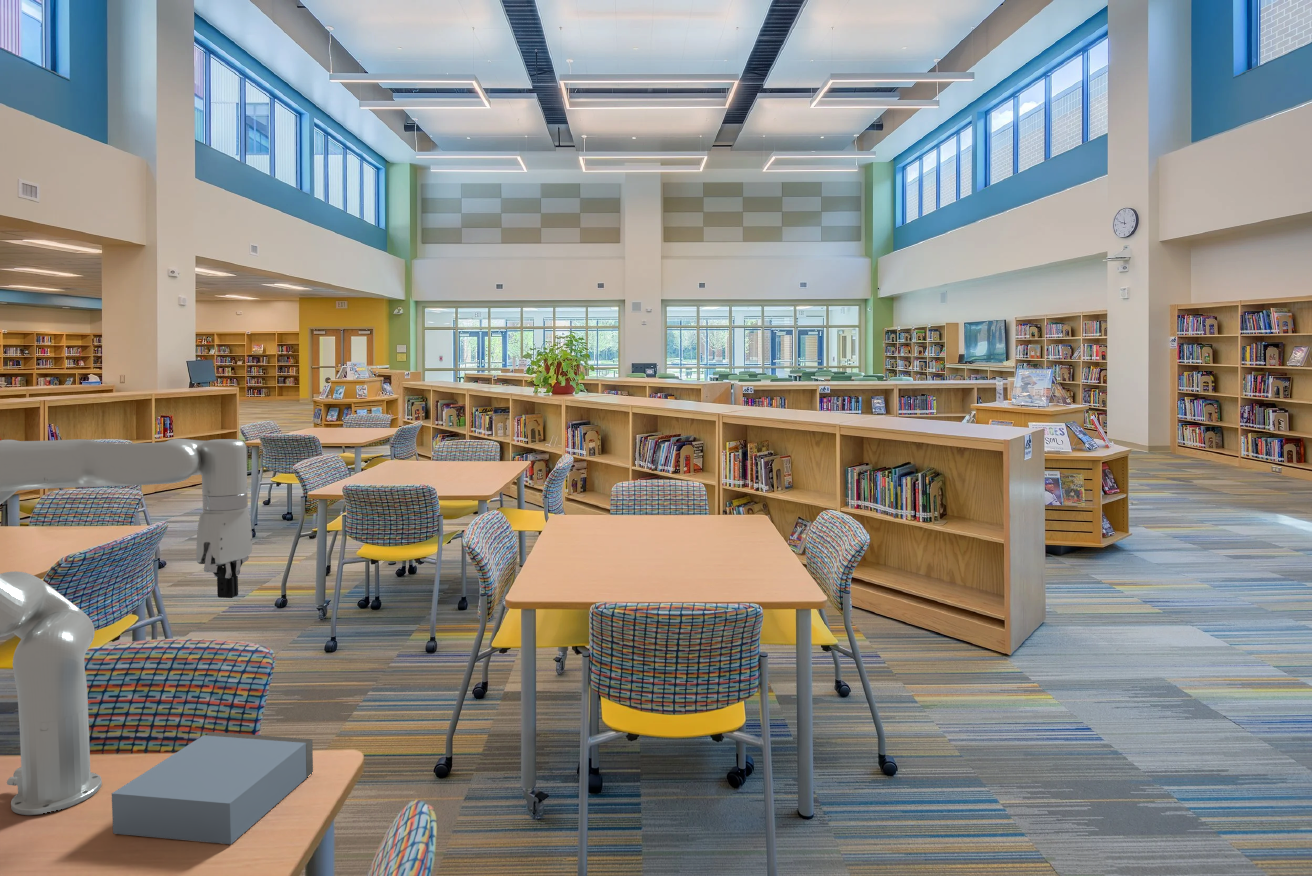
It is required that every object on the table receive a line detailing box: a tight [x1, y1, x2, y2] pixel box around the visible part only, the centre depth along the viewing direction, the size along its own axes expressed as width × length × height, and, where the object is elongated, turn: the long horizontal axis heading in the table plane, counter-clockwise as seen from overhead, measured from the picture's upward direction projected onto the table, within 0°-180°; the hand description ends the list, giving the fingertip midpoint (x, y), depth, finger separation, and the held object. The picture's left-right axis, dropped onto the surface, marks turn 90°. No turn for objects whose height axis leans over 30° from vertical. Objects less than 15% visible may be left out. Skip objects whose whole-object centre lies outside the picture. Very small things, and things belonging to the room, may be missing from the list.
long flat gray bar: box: [205, 731, 314, 777], centre depth 140 cm, size 21×2×7 cm, turn 83°
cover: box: [111, 734, 307, 845], centre depth 129 cm, size 21×20×7 cm
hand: (227, 596), depth 142 cm, fingers closed
